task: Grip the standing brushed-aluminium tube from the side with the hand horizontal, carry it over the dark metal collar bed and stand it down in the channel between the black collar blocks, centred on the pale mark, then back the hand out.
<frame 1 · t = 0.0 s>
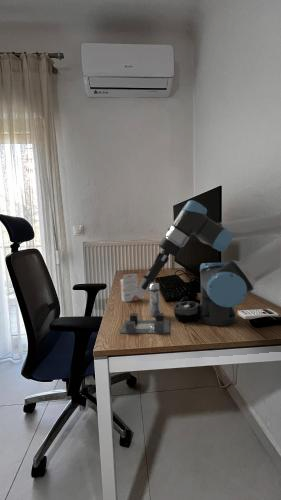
hand: (140, 291, 87), 15 cm above the table, fingers open, 13 cm apart
cpu cooler: (188, 318, 100), on the table, touching arm
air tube: (155, 315, 106), on the table
collar bed: (145, 327, 93), on the table
ink cartridge box: (130, 300, 132), on the table
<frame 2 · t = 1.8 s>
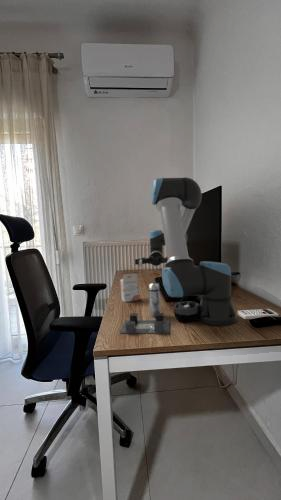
hand: (154, 263, 114), 22 cm above the table, fingers open, 13 cm apart
nothing on the table moved.
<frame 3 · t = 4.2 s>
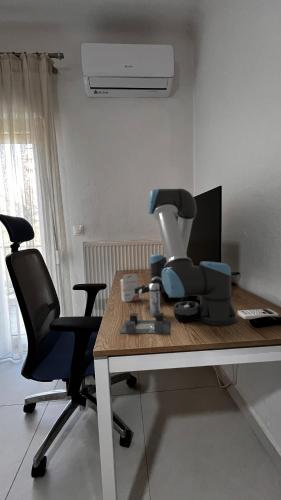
hand: (154, 295, 110), 8 cm above the table, fingers open, 13 cm apart
nothing on the table moved.
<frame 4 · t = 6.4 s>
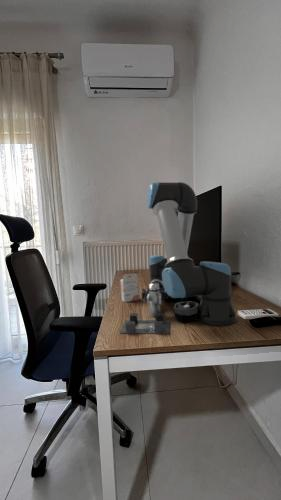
hand: (153, 300, 100), 8 cm above the table, fingers closed on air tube, 4 cm apart
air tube: (155, 315, 106), on the table, touching gripper
everything else where it was.
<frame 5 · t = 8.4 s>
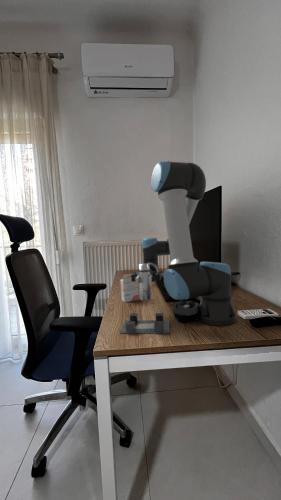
hand: (143, 281, 91), 18 cm above the table, fingers closed on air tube, 4 cm apart
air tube: (145, 298, 97), point 10 cm above the table, touching gripper
everything else where it was.
when the fingers open (9 cm above the table, at t = 10.6 s): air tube stays where it is, resting on collar bed.
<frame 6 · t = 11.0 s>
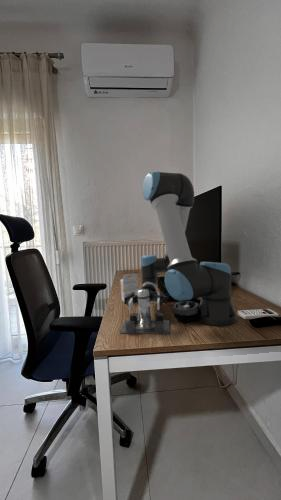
hand: (143, 306, 88), 9 cm above the table, fingers open, 10 cm apart
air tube: (145, 325, 93), resting on collar bed
everything else where it was.
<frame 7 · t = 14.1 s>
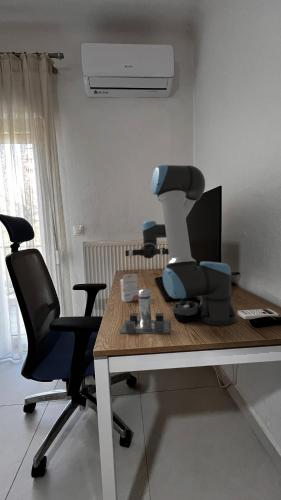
hand: (145, 253, 104), 27 cm above the table, fingers open, 13 cm apart
nothing on the table moved.
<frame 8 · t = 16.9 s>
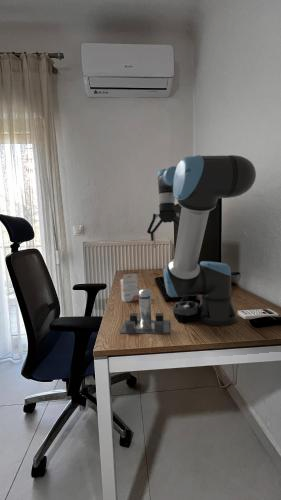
hand: (168, 247, 118), 29 cm above the table, fingers open, 13 cm apart
nothing on the table moved.
at the end: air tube 0.1 cm off-centre on the collar bed, point 0.4 cm above the collar bed's base; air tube tilted 0°; the gripper is holding nothing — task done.
